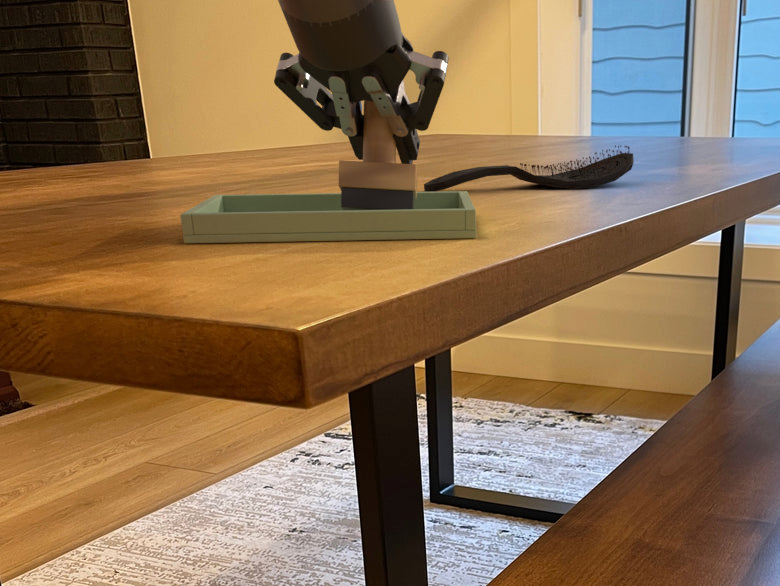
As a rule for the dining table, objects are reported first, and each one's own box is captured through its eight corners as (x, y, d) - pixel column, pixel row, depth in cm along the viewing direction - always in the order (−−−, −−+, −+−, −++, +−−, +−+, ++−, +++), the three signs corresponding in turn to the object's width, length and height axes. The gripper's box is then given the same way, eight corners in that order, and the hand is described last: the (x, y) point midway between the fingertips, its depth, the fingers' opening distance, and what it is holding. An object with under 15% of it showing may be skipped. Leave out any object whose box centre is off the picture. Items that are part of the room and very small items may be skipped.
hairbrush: (410, 162, 108) (611, 142, 117) (413, 197, 110) (611, 175, 119) (437, 167, 101) (649, 147, 110) (440, 205, 103) (648, 182, 112)
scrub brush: (338, 206, 78) (339, 65, 76) (343, 214, 82) (344, 79, 80) (415, 210, 78) (418, 69, 77) (416, 218, 82) (419, 84, 81)
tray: (183, 243, 74) (179, 214, 73) (217, 220, 86) (214, 194, 85) (476, 238, 75) (475, 209, 74) (467, 216, 88) (467, 191, 87)
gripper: (439, -66, 67) (479, 123, 83) (243, -61, 69) (318, 122, 85) (422, 17, 64) (466, 196, 80) (218, 20, 66) (301, 193, 82)
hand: (390, 157), depth 83 cm, fingers closed on scrub brush, 2 cm apart
